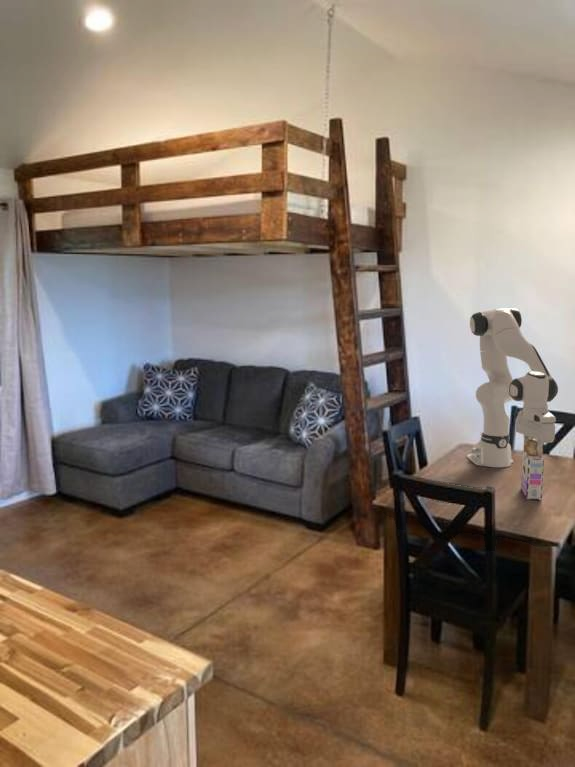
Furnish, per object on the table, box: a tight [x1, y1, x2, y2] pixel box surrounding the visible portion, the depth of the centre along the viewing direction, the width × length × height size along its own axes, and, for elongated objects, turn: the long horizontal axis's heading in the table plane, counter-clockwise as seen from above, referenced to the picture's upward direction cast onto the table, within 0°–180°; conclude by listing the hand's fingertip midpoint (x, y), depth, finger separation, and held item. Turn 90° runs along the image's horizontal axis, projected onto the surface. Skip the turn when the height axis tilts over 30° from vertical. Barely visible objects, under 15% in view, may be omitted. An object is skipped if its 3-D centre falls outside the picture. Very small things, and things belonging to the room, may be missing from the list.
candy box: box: [520, 449, 545, 501], centre depth 244 cm, size 14×6×16 cm, turn 168°
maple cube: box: [523, 438, 544, 455], centre depth 242 cm, size 5×5×5 cm
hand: (533, 448), depth 243 cm, fingers closed on maple cube, 5 cm apart
